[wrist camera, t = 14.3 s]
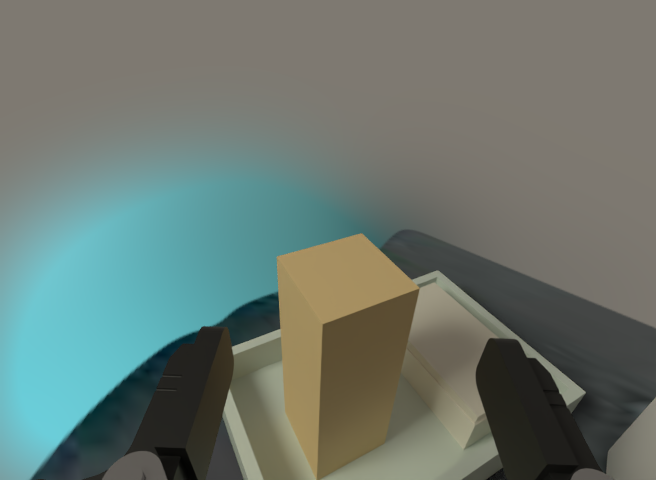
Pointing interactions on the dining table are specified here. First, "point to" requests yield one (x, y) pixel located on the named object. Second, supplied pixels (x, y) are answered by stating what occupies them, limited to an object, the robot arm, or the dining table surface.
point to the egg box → (447, 363)
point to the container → (635, 449)
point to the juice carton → (342, 347)
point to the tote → (403, 431)
